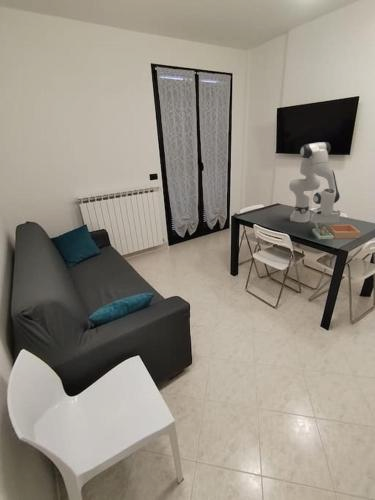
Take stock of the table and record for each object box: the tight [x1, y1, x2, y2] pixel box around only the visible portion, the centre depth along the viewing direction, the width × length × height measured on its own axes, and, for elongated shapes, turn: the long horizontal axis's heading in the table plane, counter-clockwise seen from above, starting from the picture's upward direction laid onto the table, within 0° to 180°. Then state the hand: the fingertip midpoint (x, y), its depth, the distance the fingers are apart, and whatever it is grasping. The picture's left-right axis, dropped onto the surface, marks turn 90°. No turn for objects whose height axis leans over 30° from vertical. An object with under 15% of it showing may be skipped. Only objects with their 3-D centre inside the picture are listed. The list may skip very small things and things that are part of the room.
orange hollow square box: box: [326, 224, 361, 240], centre depth 191 cm, size 17×17×6 cm
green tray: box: [312, 228, 334, 241], centre depth 195 cm, size 18×10×3 cm, turn 170°
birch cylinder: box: [319, 223, 328, 236], centre depth 193 cm, size 4×4×8 cm
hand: (323, 227), depth 193 cm, fingers open, 8 cm apart
